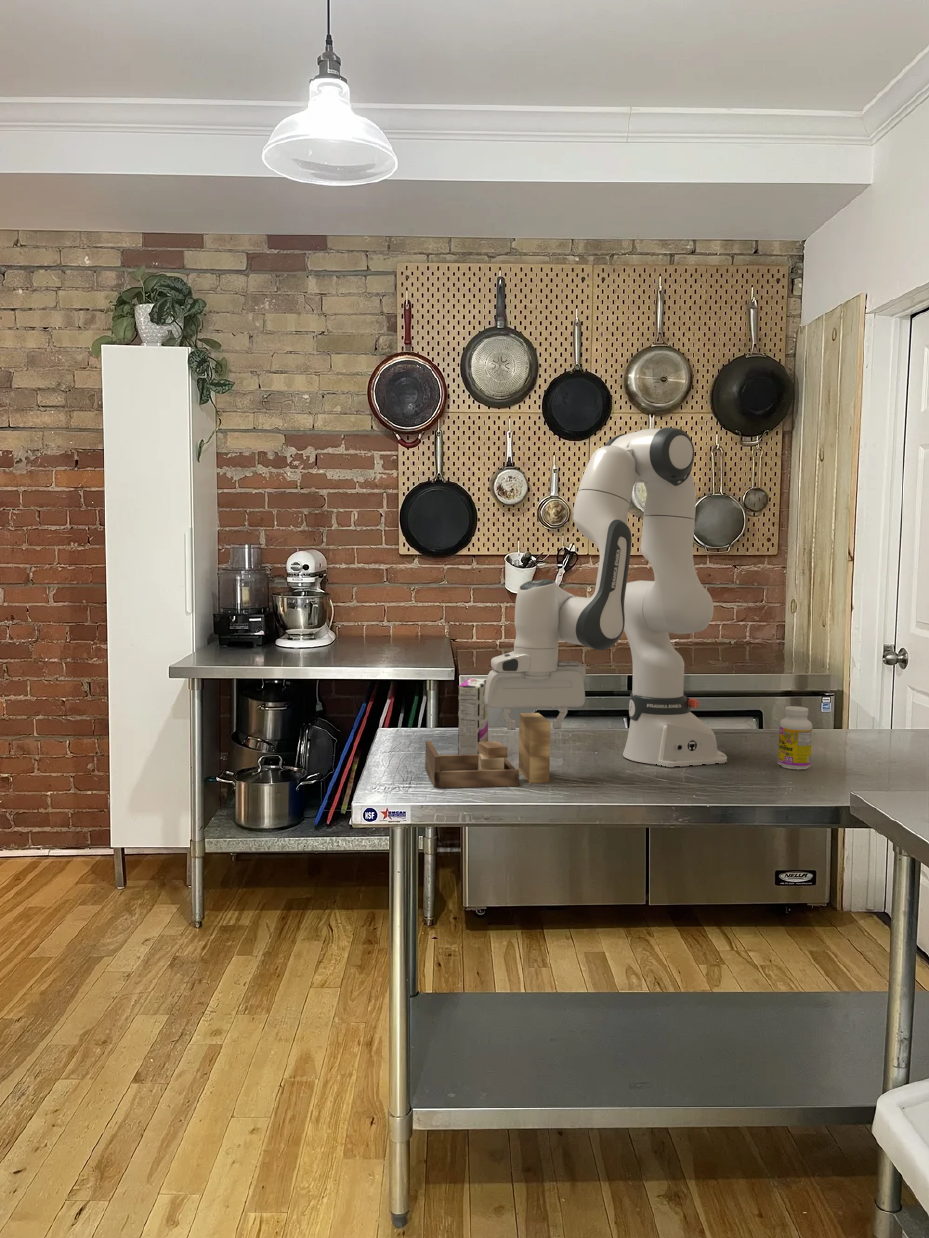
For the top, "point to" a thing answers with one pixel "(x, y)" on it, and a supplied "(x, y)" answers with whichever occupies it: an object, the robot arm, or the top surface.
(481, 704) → the candy bar box
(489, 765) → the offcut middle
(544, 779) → the light brown wooden block
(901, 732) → the top surface
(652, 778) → the top surface
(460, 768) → the rack
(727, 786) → the top surface
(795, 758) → the supplement bottle
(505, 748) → the offcut top
